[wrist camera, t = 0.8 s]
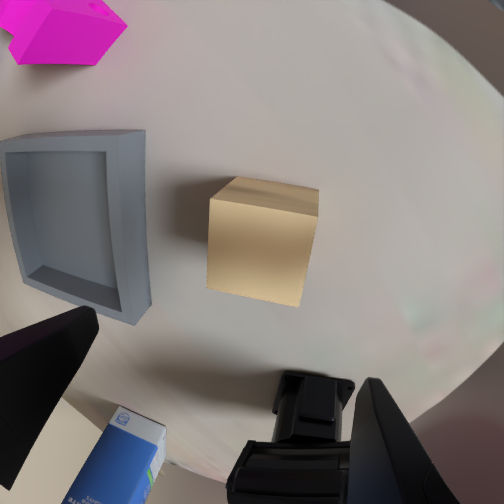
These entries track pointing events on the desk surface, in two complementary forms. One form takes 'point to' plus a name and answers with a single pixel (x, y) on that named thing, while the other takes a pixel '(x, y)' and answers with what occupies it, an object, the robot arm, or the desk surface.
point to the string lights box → (121, 462)
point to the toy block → (59, 30)
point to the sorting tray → (80, 217)
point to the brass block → (261, 239)
